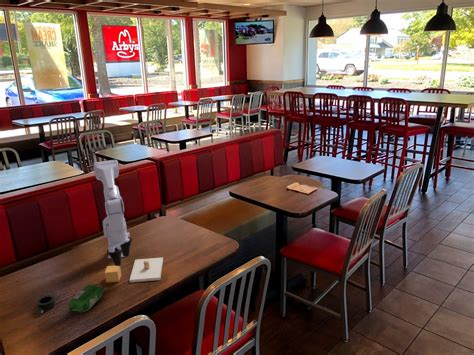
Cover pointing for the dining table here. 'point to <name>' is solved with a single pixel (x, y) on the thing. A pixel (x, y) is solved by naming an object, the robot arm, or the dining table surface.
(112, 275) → the tan wooden block
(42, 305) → the duct tape
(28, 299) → the dining table surface
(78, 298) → the snack package
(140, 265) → the post plate
